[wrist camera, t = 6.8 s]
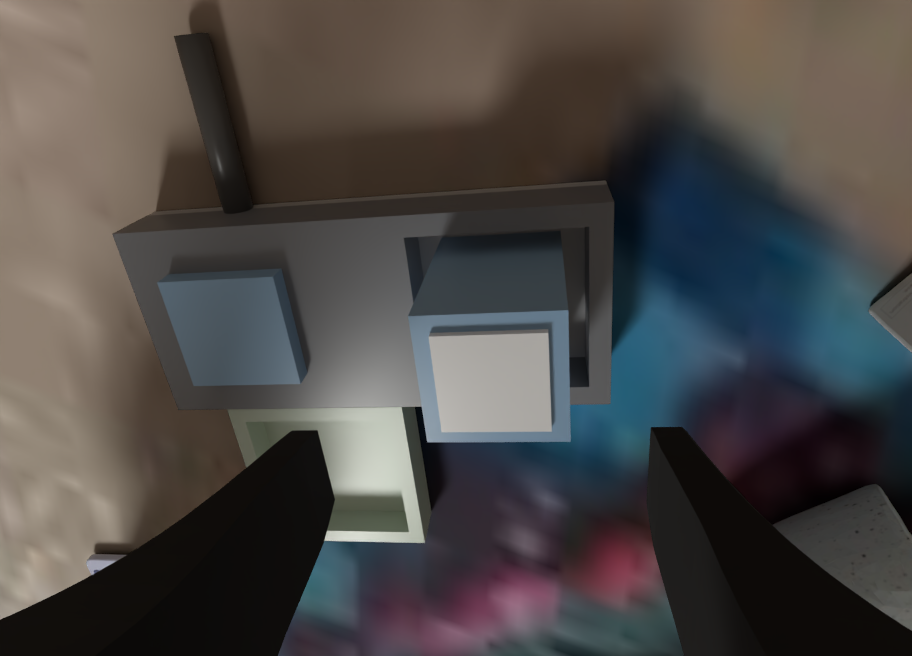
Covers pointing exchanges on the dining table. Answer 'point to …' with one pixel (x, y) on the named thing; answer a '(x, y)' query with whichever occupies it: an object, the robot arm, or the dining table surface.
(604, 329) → the grey busybox board
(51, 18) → the dining table surface
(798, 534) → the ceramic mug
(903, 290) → the supplement box
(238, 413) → the tray
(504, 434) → the plug
